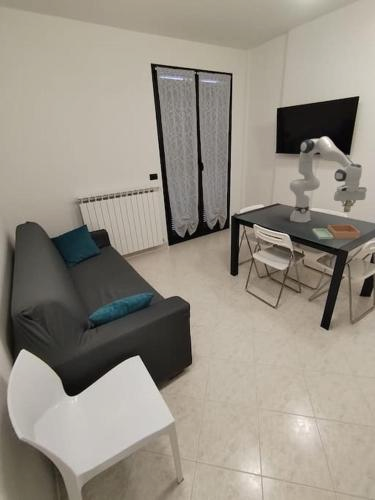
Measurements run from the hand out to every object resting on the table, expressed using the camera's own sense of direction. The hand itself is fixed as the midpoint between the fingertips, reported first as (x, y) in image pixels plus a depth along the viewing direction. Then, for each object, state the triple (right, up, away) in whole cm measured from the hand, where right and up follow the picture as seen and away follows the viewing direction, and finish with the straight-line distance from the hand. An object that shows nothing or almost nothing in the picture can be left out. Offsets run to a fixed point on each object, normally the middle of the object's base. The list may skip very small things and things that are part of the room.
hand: (347, 206), depth 183 cm
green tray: (-12, -22, +13) cm, 28 cm away
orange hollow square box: (+2, -22, +10) cm, 24 cm away
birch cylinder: (0, -4, +2) cm, 4 cm away
